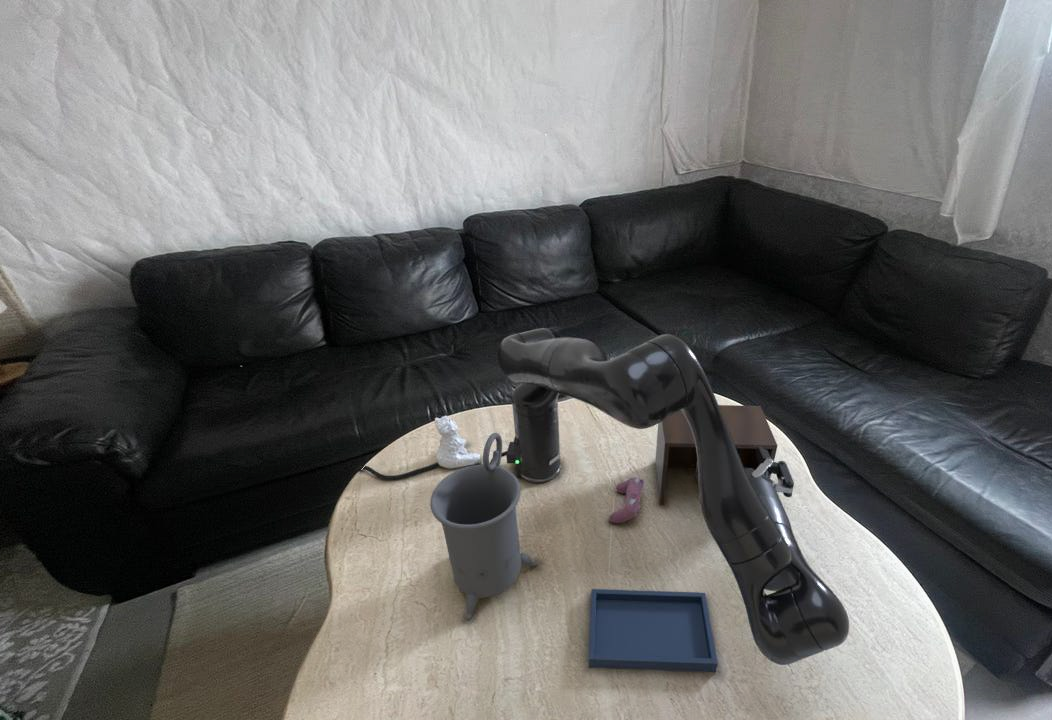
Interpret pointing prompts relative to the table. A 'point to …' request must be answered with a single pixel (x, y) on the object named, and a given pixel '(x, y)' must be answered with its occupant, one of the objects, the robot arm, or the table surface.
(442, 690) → the table surface
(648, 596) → the tray
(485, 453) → the grey footed pot
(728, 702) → the table surface
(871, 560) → the table surface
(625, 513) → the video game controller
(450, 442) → the white creature statuette
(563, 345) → the robot arm
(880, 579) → the table surface
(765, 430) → the cabinet
